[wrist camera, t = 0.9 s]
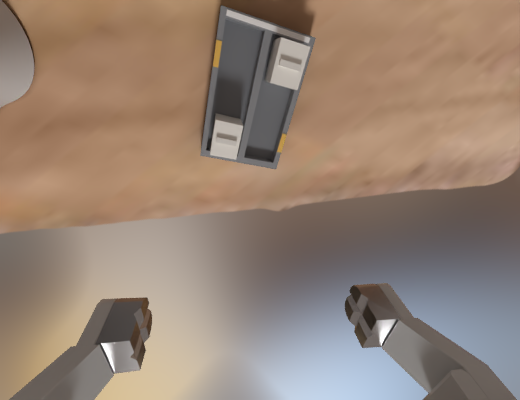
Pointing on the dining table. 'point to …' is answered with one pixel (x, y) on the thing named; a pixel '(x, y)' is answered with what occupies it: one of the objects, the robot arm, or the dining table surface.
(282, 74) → the white sliding block
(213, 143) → the white cube-shaped block
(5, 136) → the dining table surface
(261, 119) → the switch board
